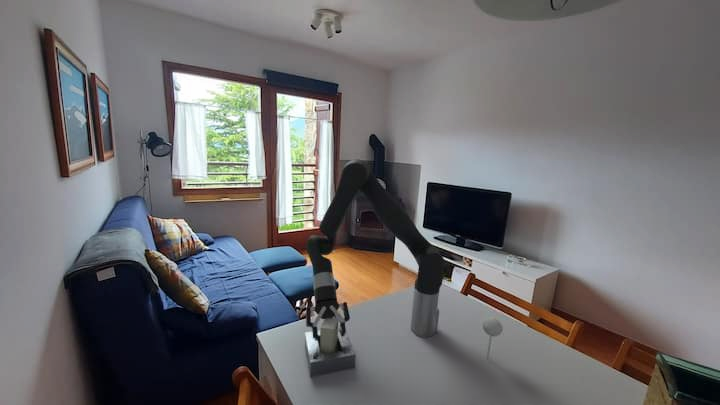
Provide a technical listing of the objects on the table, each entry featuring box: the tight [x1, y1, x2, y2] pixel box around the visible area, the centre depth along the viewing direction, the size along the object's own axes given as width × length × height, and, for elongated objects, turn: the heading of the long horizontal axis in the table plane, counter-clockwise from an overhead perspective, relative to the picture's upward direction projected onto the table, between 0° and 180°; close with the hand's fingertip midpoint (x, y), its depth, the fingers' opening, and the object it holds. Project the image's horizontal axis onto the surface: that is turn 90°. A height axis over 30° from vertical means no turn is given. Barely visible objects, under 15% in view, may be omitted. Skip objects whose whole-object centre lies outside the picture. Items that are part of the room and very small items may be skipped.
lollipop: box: [481, 316, 504, 360], centre depth 93 cm, size 6×6×15 cm
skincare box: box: [319, 317, 339, 354], centre depth 90 cm, size 6×4×12 cm
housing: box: [304, 326, 357, 378], centre depth 91 cm, size 14×14×5 cm
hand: (330, 338), depth 89 cm, fingers open, 8 cm apart
